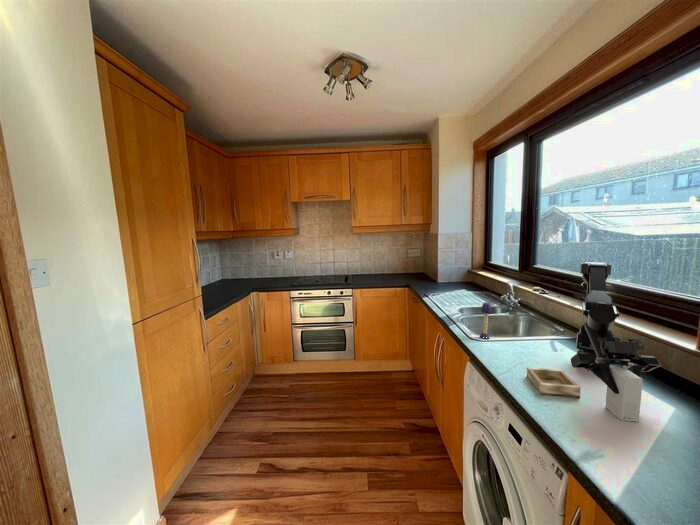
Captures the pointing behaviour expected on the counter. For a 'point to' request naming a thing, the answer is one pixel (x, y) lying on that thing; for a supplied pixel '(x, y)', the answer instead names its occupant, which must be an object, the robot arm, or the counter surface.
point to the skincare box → (625, 395)
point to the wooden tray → (553, 383)
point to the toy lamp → (485, 318)
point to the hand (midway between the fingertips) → (627, 394)
